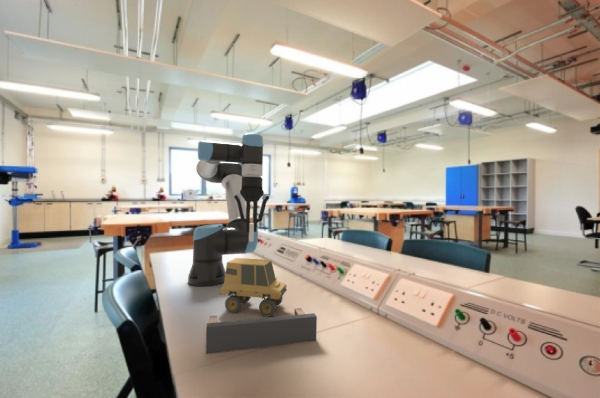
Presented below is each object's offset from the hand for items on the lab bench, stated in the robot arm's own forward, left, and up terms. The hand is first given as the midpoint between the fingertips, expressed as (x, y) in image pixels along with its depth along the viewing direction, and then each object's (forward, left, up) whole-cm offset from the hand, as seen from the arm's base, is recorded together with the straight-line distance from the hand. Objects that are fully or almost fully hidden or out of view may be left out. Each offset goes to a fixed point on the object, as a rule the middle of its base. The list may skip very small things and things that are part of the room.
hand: (251, 240), depth 102 cm
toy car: (+14, 0, -20) cm, 24 cm away
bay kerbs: (+30, 0, -19) cm, 35 cm away
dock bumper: (+37, 0, -19) cm, 42 cm away
